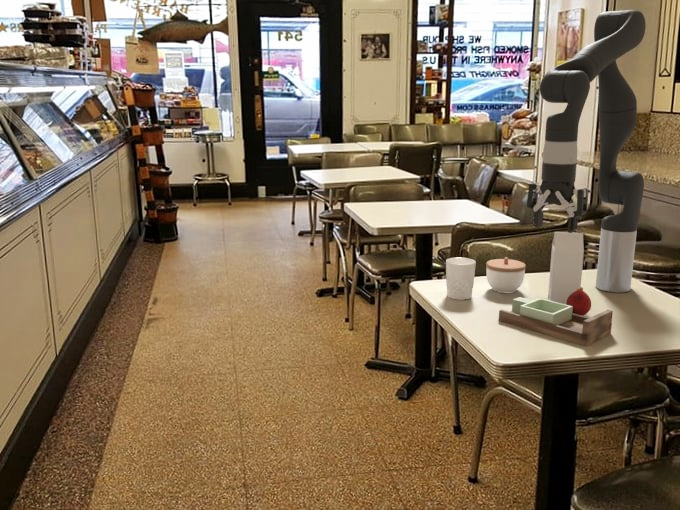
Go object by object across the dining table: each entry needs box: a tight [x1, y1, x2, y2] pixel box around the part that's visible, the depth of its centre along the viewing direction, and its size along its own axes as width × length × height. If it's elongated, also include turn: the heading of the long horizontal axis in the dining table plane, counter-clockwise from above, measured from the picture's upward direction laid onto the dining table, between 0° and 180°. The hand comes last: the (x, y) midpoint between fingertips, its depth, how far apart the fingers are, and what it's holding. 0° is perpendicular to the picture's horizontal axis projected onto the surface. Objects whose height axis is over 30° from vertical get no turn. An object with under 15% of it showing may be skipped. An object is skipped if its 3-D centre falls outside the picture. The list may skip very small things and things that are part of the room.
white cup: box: [445, 256, 476, 301], centre depth 184 cm, size 8×8×10 cm
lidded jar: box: [485, 257, 527, 293], centre depth 190 cm, size 11×11×9 cm
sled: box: [511, 296, 573, 325], centre depth 164 cm, size 9×13×3 cm
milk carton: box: [547, 231, 585, 305], centre depth 178 cm, size 7×7×19 cm
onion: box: [566, 286, 592, 316], centre depth 167 cm, size 6×6×8 cm
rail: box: [498, 309, 614, 347], centre depth 161 cm, size 11×23×6 cm, turn 43°
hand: (554, 229), depth 160 cm, fingers open, 8 cm apart
